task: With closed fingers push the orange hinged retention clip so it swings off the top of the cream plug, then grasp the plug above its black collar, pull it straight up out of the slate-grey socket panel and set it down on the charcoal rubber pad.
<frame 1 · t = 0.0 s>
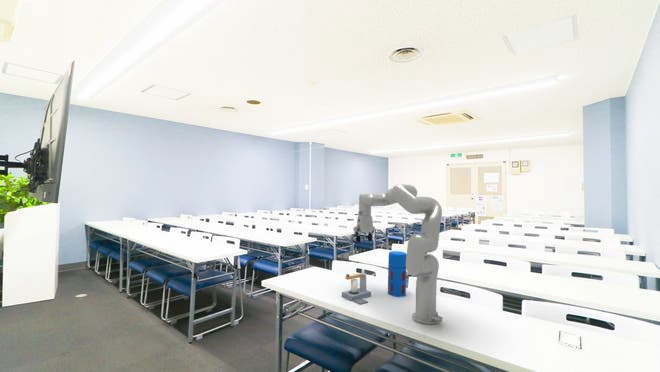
hand: (364, 241, 180), 31 cm above the table, fingers open, 9 cm apart
power bank: (569, 341, 126), on the table
clip: (356, 275, 172), point 12 cm above the table, hinge at 0.0°
thermos: (396, 294, 178), on the table
plug: (353, 296, 171), resting in outlet block
outlet block: (356, 296, 172), on the table
pad: (360, 301, 163), on the table
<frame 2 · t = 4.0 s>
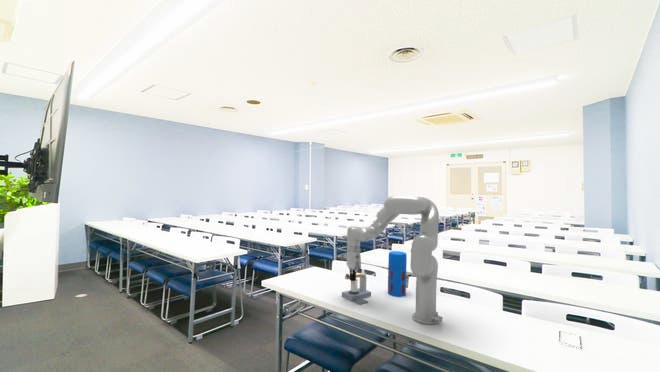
hand: (352, 280, 167), 11 cm above the table, fingers closed
clip: (355, 275, 172), point 12 cm above the table, hinge at -2.1°, touching gripper
everything else where it was.
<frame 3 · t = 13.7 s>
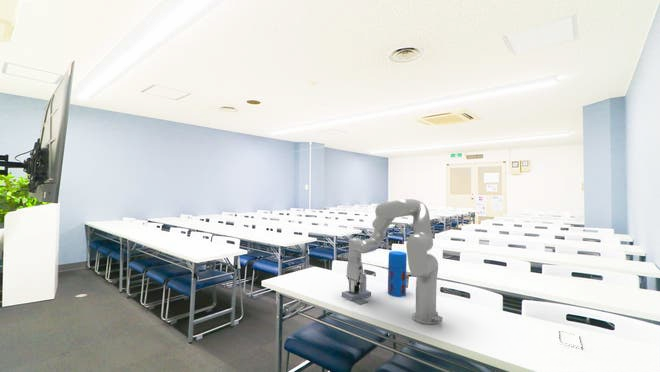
hand: (354, 290, 171), 4 cm above the table, fingers closed on plug, 4 cm apart
clip: (360, 271, 181), point 12 cm above the table, hinge at -114.5°
plug: (353, 296, 171), resting in outlet block, touching gripper
everything else where it was.
when the fingers open (7 cm above the table, at t = 18.9 s): plug drops 2 cm, resting on pad.
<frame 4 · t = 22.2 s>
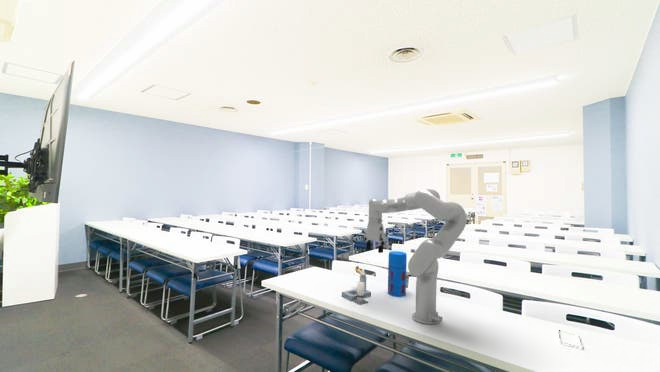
hand: (374, 251, 166), 28 cm above the table, fingers open, 9 cm apart
plug: (360, 300, 163), point 1 cm above the table, touching pad
everything else where it was.
at the end: clip at -114° (first picture: +0°); plug inside the target area on the pad (0.0 cm from its centre), point 0.6 cm above the pad's base; plug tilted 1° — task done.
